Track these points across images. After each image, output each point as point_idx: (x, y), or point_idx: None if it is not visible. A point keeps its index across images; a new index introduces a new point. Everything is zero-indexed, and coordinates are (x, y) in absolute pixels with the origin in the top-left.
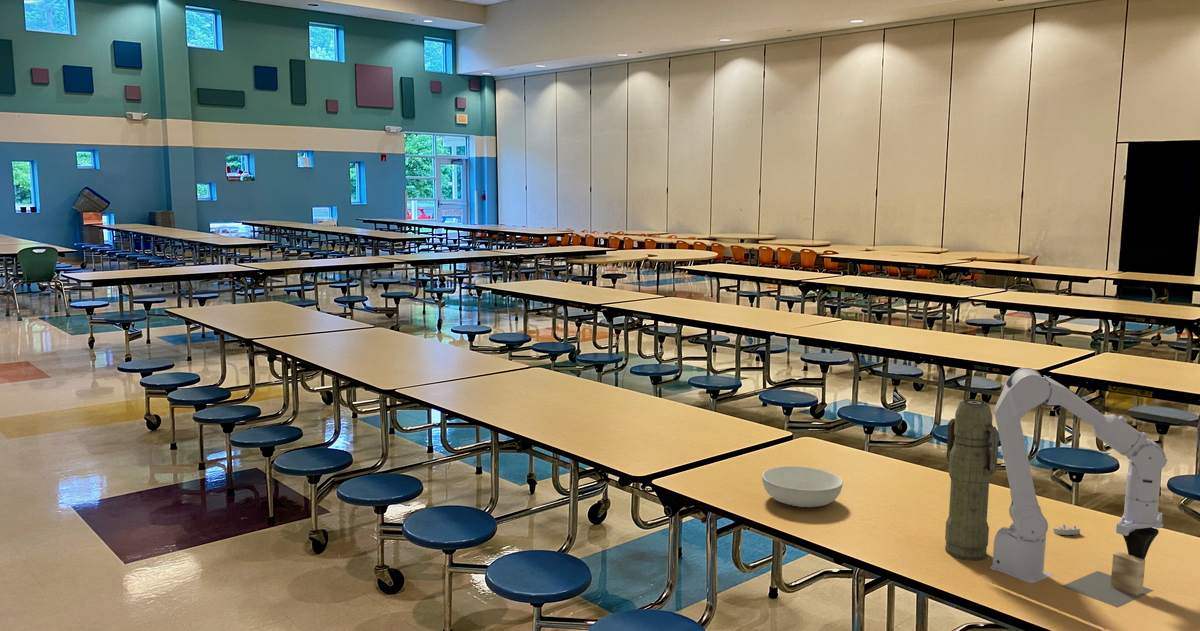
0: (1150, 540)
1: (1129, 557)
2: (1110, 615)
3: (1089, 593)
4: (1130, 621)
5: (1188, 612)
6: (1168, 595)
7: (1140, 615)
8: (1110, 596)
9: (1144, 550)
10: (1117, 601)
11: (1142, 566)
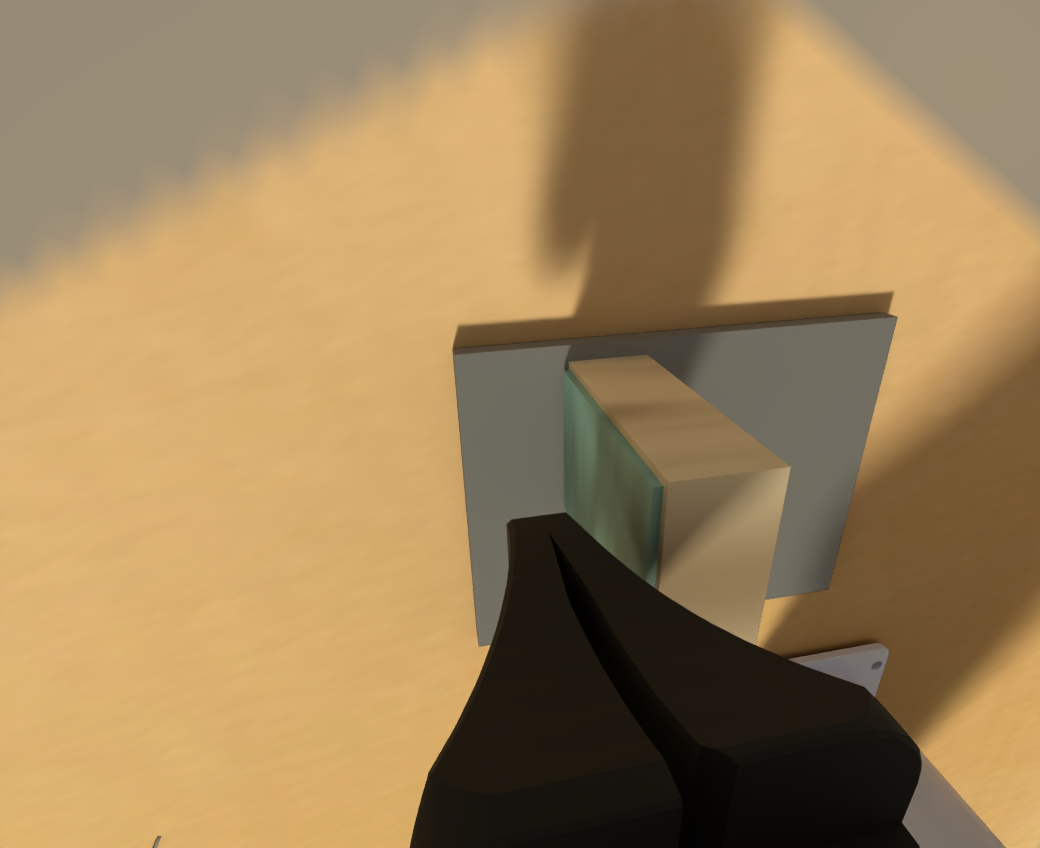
0: (595, 677)
1: (725, 574)
2: (973, 293)
3: (820, 488)
4: (986, 187)
5: (558, 22)
6: (387, 275)
7: (862, 200)
8: (777, 419)
9: (612, 585)
10: (815, 363)
11: (691, 447)
